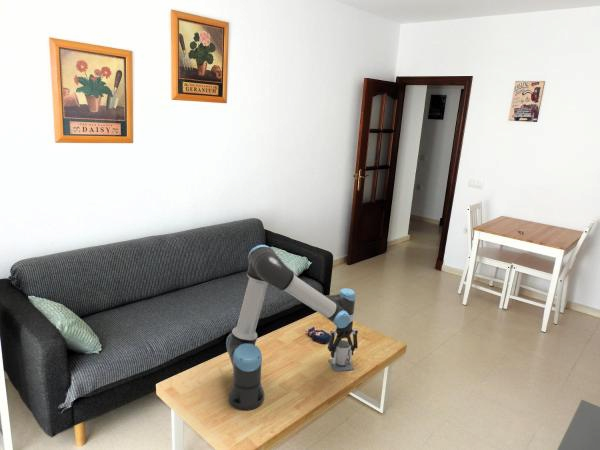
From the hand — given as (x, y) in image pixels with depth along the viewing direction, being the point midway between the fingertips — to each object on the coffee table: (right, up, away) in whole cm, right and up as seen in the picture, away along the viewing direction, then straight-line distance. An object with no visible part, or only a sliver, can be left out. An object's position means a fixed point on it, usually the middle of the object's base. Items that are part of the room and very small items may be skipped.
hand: (341, 361), depth 218 cm
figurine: (-11, +5, +25) cm, 28 cm away
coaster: (0, -2, +1) cm, 2 cm away
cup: (0, -1, 0) cm, 0 cm away
